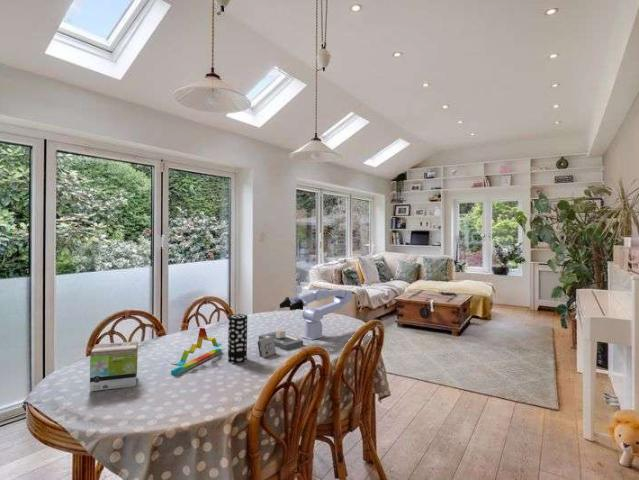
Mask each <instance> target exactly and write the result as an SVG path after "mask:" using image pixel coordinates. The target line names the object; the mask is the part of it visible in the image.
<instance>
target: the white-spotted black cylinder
mask: <svg viewBox="0 0 639 480" xmlns="http://www.w3.org/2000/svg"><path fill="white" fill-rule="evenodd" d="M227 328H228V329H227V330H228V334H227V362H229V363H230V364H243V363H245V362H247V359H248V315H247V314H241V313H240V314H239V313H237V314H230V315H228V326H227Z"/></svg>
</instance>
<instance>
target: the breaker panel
mask: <svg viewBox="0 0 639 480" xmlns="http://www.w3.org/2000/svg"><path fill="white" fill-rule="evenodd" d="M271 336H273V338H274V344H275V348H278V349H281V350H283V351H287V350H291V349H294V348H295V349H296V348H298V347H303V345H304V340H303V339H301V338H297V337H294V336H291V335H288V334H285V337H283V338H277V337H276V331H273V332H269V333H264V334H261V335H258V341H260V340H261V339H264V338H268V337H271Z"/></svg>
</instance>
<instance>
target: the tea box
mask: <svg viewBox="0 0 639 480" xmlns="http://www.w3.org/2000/svg"><path fill="white" fill-rule="evenodd" d="M138 345H139V341H138V340H134V341H121V342H110V343H107V342H106V343H98V344H94V346H93V348H92V350H91V352H90V354H89V356H90V358H89V359H90V361H89V362H90V363H89V392H90V393H91V392H96V391H97V392H98V391H104V390H111V389H113V390H114V389H123V388H133V387H135V386H136V384H137V378H138V353H139V351H138V349H139V346H138Z"/></svg>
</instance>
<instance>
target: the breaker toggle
mask: <svg viewBox="0 0 639 480" xmlns="http://www.w3.org/2000/svg"><path fill="white" fill-rule="evenodd" d="M275 332H276V337H277V338H283V337H285V335H286V329H283V328H282V329H277V330H275Z"/></svg>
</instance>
